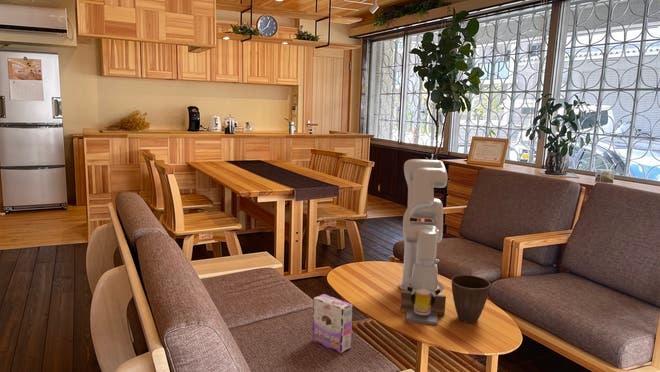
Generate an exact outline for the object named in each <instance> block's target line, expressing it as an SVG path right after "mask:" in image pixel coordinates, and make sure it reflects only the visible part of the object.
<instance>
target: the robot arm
mask: <svg viewBox="0 0 660 372" xmlns="http://www.w3.org/2000/svg"><path fill="white" fill-rule="evenodd" d="M403 173H404V174H403V175H404V179H405V181H406V184H407V189H408V190H407V208H406V210H405V212H404V214H403V218H402V236H403V239H404V249H403V250H404V251H403V252H404V253H403V265H402V266H403V269H402V281H399V284H398V287H399V288H400V290H401V291H407V292H410V293H411V301H413V304H414V303H415V291H416V289H423V288H424V289H426V290H431V292H432V299H431V306H433V304H435V297H436V296H437V295H440V293H441V292H443V291H444V290H445V286H444V285H443V284H442V283H441V282H440V281H439V280H438V279H439V277H438V274H439V272H438V271H439V269H438V264H439V263H440V259H438V258H437V247H438V246H437V245H438V243H440V242H442V239H443V231H444V206H443V202H442V200H441V199H439V198H435V197H434V193H435V192H434V188H438V189H440V188H441V189H442V188H446V187H447V184H448V172H447V169H446V167H445V164H444V162H443V161H442V160H439V159H425V158H424V159H421V158H420V159H419V158H413V159H408V160H406V161H405V162H404V164H403ZM411 219H423V220H424V219H426V220H431V221H418V220H416V221H415V220H414V221H411ZM423 285H425V286H426V287H423ZM437 288H438V289H437Z"/></svg>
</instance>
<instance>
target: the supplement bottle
mask: <svg viewBox="0 0 660 372" xmlns="http://www.w3.org/2000/svg"><path fill="white" fill-rule="evenodd" d="M423 287H426V286H425V285H423ZM431 299H432V292H431V290H426V289H424V288H423V289H416V291H415V303H414V312H415V313H416V314H419V315H428V314H430V312H431Z"/></svg>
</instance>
